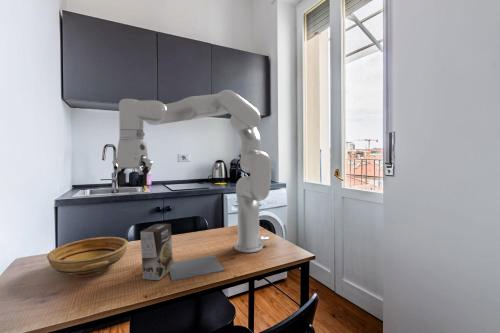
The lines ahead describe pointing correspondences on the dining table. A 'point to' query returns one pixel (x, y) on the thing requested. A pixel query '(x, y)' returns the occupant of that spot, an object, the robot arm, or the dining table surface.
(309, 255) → the dining table surface
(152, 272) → the coffee box
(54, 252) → the brown oval basket
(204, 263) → the grey mat
